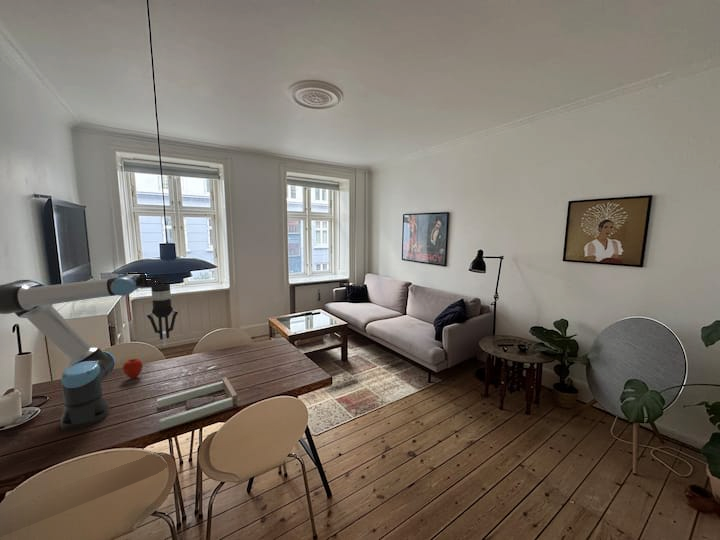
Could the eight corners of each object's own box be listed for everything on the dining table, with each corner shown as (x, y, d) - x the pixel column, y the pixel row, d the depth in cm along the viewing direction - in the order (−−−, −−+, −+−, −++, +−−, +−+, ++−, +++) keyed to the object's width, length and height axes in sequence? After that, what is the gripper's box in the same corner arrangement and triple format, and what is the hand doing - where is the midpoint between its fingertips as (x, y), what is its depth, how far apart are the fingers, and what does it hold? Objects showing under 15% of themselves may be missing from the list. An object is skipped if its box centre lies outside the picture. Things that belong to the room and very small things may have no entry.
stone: (213, 400, 140) (213, 391, 139) (215, 410, 132) (215, 400, 132) (185, 407, 133) (184, 398, 133) (185, 418, 126) (185, 408, 125)
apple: (119, 380, 155) (118, 361, 154) (136, 373, 163) (134, 355, 162) (131, 383, 153) (129, 363, 151) (147, 375, 161) (145, 357, 159)
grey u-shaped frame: (160, 429, 118) (159, 418, 117) (157, 406, 134) (156, 396, 133) (237, 404, 136) (236, 394, 136) (226, 386, 152) (226, 377, 151)
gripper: (144, 302, 134) (148, 350, 137) (177, 298, 142) (180, 344, 145) (145, 298, 140) (149, 345, 144) (177, 295, 148) (180, 339, 151)
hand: (165, 344), depth 144 cm, fingers closed
